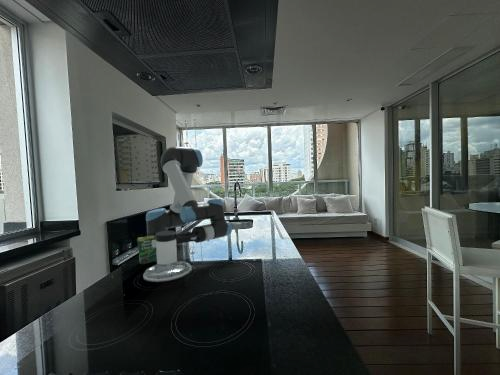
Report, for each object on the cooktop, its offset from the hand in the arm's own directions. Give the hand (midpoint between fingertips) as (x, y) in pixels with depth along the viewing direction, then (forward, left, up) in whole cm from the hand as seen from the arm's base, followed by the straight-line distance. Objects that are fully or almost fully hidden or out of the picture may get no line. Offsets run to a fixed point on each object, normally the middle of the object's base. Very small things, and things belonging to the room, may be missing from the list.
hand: (152, 244), depth 107 cm
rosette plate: (0, +6, -14) cm, 15 cm away
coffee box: (-23, +5, -14) cm, 27 cm away
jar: (+3, +4, -8) cm, 9 cm away
